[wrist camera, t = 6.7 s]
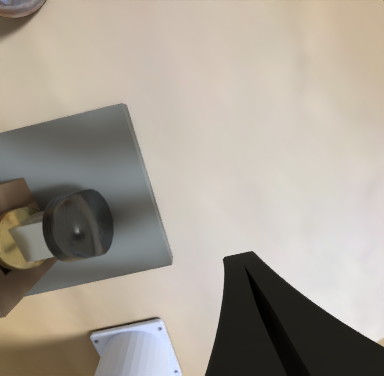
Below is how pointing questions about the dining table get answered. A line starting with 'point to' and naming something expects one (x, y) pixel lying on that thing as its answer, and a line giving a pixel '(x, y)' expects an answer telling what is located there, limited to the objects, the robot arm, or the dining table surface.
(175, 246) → the dining table surface
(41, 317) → the dining table surface
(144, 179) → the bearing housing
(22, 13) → the tin
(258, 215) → the dining table surface
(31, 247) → the shaft
